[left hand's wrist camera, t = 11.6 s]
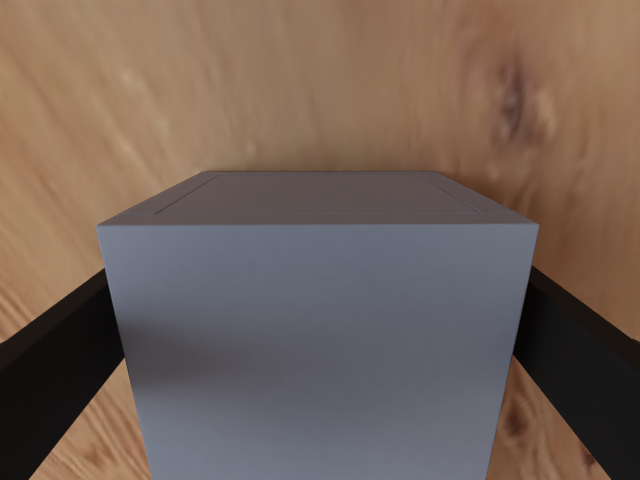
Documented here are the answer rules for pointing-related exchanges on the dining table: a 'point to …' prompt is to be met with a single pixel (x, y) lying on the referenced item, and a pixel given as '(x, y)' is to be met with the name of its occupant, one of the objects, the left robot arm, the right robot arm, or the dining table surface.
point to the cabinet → (318, 323)
